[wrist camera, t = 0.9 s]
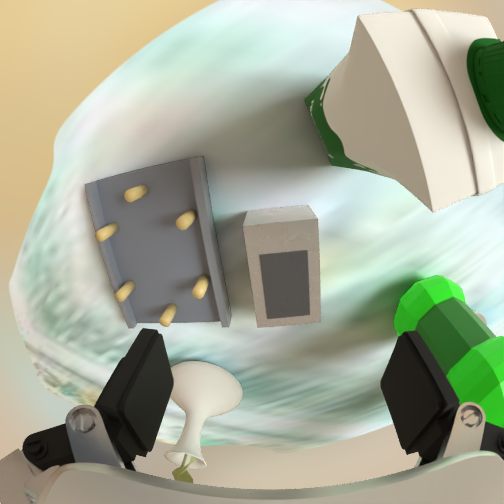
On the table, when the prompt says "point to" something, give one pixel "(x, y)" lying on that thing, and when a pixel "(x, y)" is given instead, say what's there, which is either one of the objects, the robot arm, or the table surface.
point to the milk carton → (418, 104)
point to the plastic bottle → (457, 342)
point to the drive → (284, 265)
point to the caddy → (161, 244)
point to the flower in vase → (199, 409)
